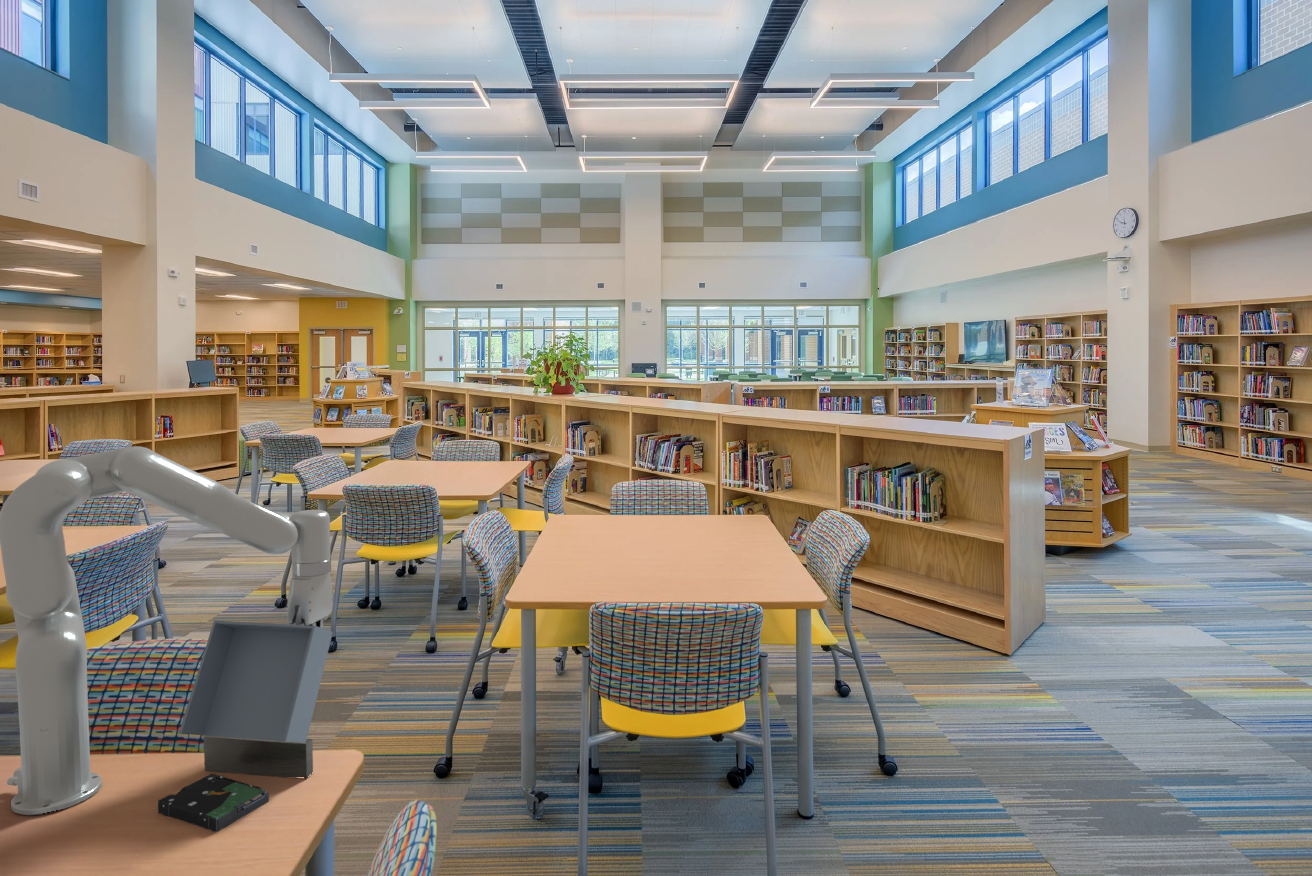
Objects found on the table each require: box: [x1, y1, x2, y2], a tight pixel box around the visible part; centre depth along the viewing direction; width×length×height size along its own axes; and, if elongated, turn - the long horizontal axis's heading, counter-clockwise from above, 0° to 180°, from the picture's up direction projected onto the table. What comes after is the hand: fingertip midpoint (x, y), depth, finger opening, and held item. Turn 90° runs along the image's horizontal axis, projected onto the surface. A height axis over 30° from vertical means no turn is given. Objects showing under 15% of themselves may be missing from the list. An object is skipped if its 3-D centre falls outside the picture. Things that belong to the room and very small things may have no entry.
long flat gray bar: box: [203, 735, 314, 778], centre depth 140 cm, size 21×2×7 cm, turn 83°
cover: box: [178, 620, 334, 743], centre depth 140 cm, size 21×20×7 cm
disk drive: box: [157, 773, 270, 833], centre depth 129 cm, size 10×3×15 cm
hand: (312, 652), depth 157 cm, fingers closed
